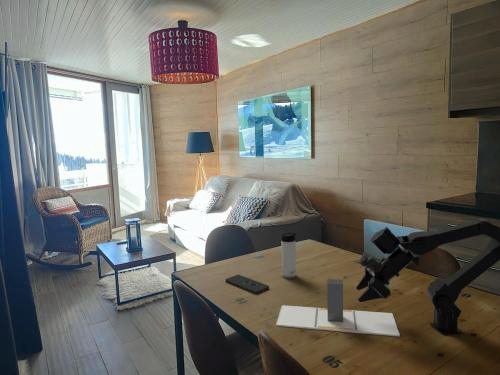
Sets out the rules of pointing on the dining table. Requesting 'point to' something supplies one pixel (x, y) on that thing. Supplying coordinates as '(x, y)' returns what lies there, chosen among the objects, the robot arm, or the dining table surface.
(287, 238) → the travel mug
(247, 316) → the dining table surface
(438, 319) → the robot arm
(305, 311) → the board
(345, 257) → the dining table surface
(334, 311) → the translucent grey tumbler
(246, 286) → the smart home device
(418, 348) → the dining table surface
